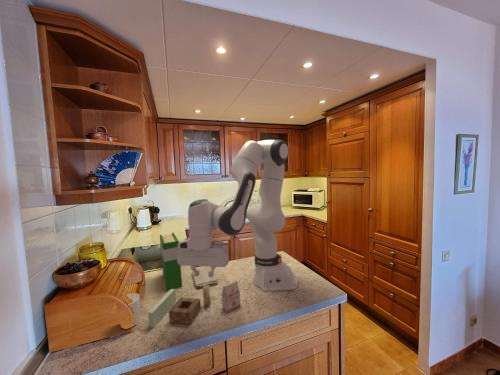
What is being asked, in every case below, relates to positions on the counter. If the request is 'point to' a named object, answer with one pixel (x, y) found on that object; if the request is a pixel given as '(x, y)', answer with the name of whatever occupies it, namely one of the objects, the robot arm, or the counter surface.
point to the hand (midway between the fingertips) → (204, 276)
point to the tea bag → (231, 296)
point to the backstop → (161, 308)
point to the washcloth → (204, 278)
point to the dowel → (206, 295)
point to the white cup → (135, 306)
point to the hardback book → (170, 261)
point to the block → (185, 310)
